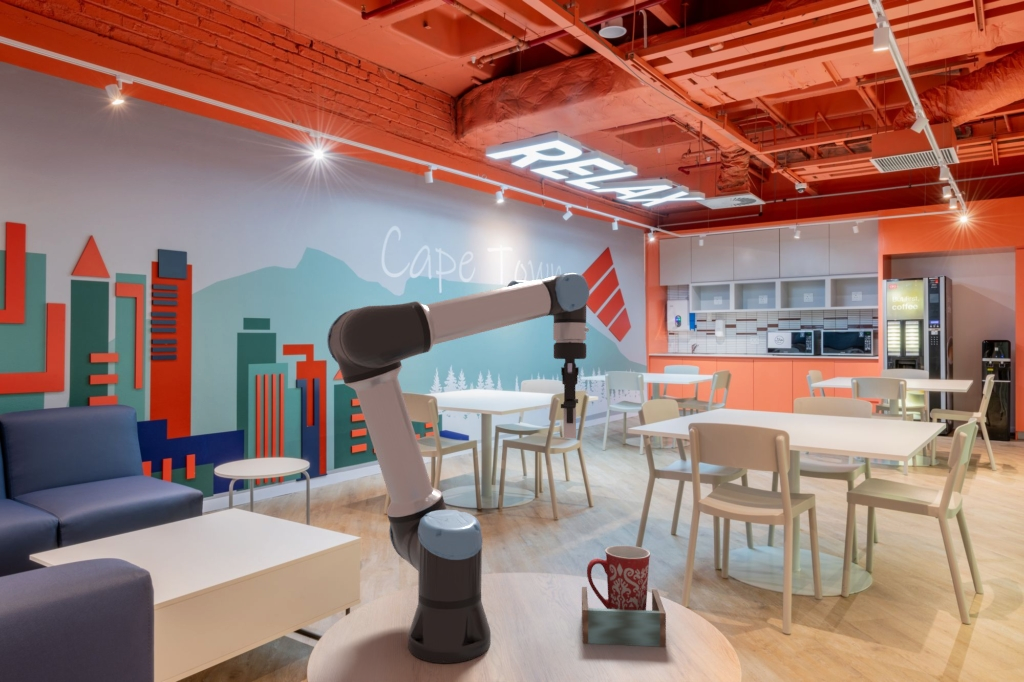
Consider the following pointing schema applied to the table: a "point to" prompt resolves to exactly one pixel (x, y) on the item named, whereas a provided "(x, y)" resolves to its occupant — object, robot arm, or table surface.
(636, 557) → the mug
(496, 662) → the table surface
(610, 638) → the dock
